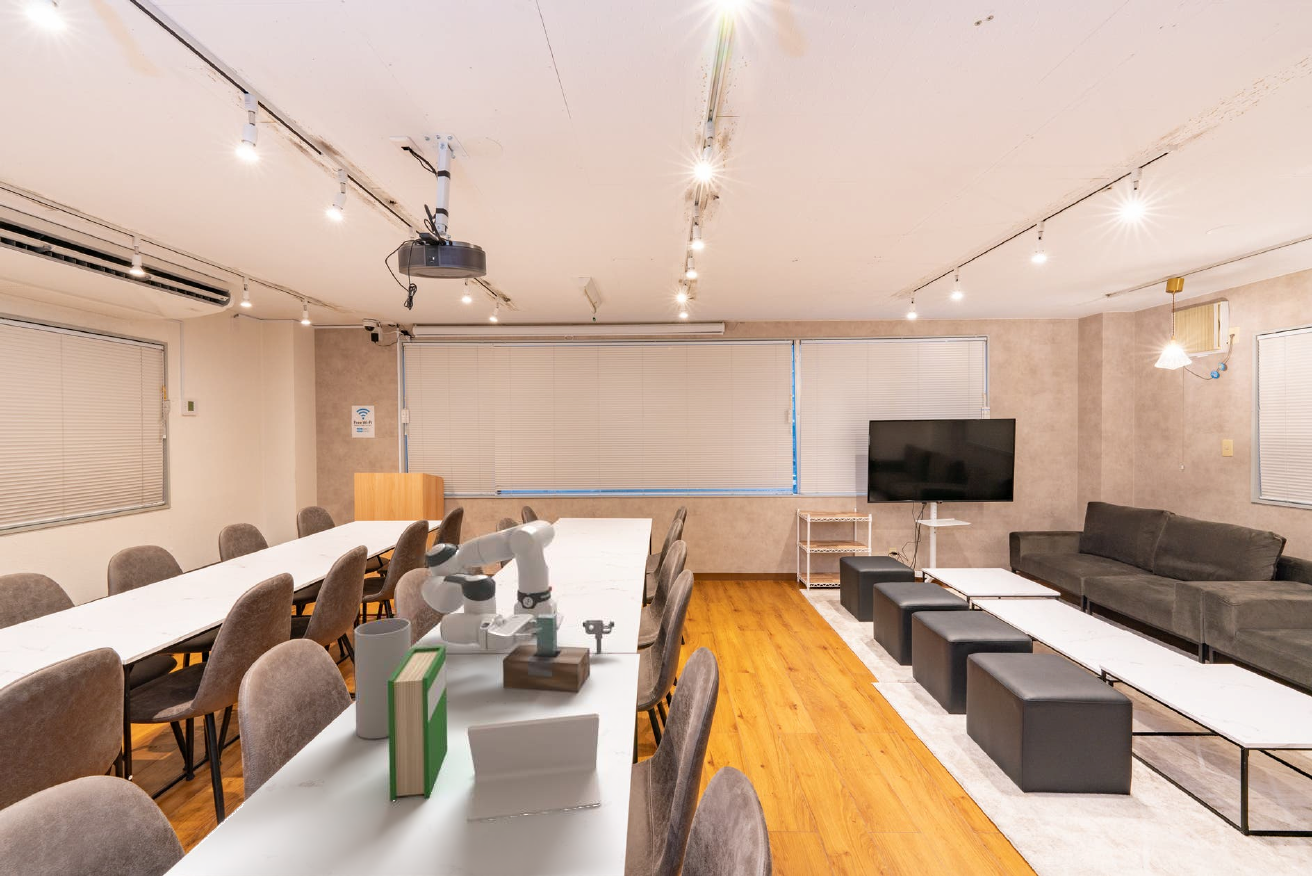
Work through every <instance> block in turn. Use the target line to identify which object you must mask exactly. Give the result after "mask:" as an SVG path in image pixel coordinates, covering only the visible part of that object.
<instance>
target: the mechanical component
mask: <svg viewBox="0 0 1312 876" xmlns="http://www.w3.org/2000/svg"><path fill="white" fill-rule="evenodd" d="M591 626H592V627H591ZM614 627H615V622H614V621H612V620H610V621H609V623H608V624H605V623H604V620H601V619H596V620H595V619H593V620H591V619H590V620H589V619H587V620H585V621H583V622H582V628H585V633H586V634H587V635H594V639H595V640H596V641H595V643H596V652H597V653H599V654H600V653H601V652H602V639H603V638H604V636H603V635H610V634H611V633H612V630H613V628H614ZM607 629H608V630H607Z"/></svg>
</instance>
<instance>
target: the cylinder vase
mask: <svg viewBox="0 0 1312 876" xmlns="http://www.w3.org/2000/svg"><path fill="white" fill-rule="evenodd" d="M353 631H354V632H353V633H354V679H355V680H354V683H355V685H354V686H355V690H354V691H355V695H354V696H355V731H356V734H357V735H358V736H359V737H361V738H363V739H366V740H380V739H385V738H389V715H388V680H389V679H390V677H391V676H392V674H393V673H394V672H395V670H396V669H397V667H398V666H399V665H400V663H401V662H402V661H403V659H404V658H405V656H406V655H407V654H408V652H409V651H410V649H411V648H412V646H411V645H412V641H411V638H412V637H411V634H412V633H411V621H410V620H408V619H405V618H397V617H396V618H395V617H394V618H384V619H377V620H376V619H375V620H373V621H368V622H365V623H363V624H360V625H357V627H356V628H354V630H353Z"/></svg>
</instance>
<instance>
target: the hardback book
mask: <svg viewBox="0 0 1312 876" xmlns="http://www.w3.org/2000/svg"><path fill="white" fill-rule="evenodd" d="M446 647H447V646H446V645H437V646H424V647H423V646H422V647H421V646H420V647H411V649H410V651H409V652H408V654H407V655H406V656H405V658H404V659H403V661H402V662H401V663H400V665H399V666H398V667H397V669H396V670H395V672H394V673H393V674H392V676H391V677H390V679H389V680H388V715H389V737H388V754H389V755H388V757H389V758H388V759H389V760H388V763H389V766H388V767H389V802H390V801H393V800H395V799H396V800H397V798H398V797H401V796H402V797H403V796H413V795H421V794H422V795H423V794H424V796H423V797H424V799H430V797H431V795H432V793H431V792H433V790H434V787H435V785H436V781H437V779H438V777H439V773H440V771H441V768H442V765H443V763H444V760H445V757H446V754H447V752H448V714H447V713H448V711H447V710H448V708H447V707H448V705H447V701H448V700H447V650H446V649H447V648H446ZM434 784H435V785H434ZM396 797H397V798H396Z"/></svg>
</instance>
